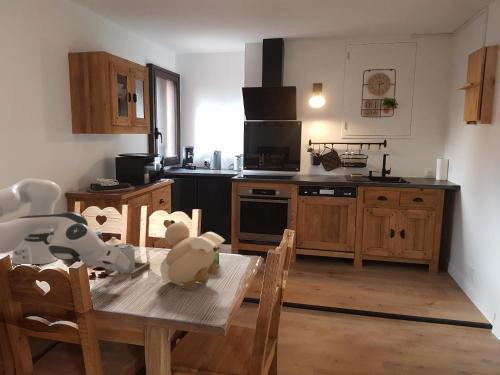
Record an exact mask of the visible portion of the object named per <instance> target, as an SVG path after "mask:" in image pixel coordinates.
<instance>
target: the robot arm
mask: <svg viewBox="0 0 500 375" xmlns="http://www.w3.org/2000/svg"><path fill="white" fill-rule="evenodd" d="M61 196H62V189H61V187H60V186H59V184H58V183H55V182H54V181H52V180H48V179H42V178H41V179H40V178H33V177H32V178H31V177H30V178H24V179H21V180H19V181H18V182H16V183H14V184H12V185H10V186H8V187H5V188H2V189H0V218H2V217H5V216H7V215H11V214H13V213H17V212H18V211H19V210H21V209H22V208H23V207H24V206H27V205H28V204H30V207H29V211H28V212H27V213H26V215H23V216H19V217H17V218H16V219H12V220H10V221H5V222H0V254H7V253H9V252H11V251H12V255H11V256H10V257H11V260H12V263H11V264H15V265H19V264H34V265H33V266H36V265H35V264H40V265H47V264H50V263H53V262H55V261H57V260H60V261H70V260H74V259H76V258H79V260H80V261H81V262H82V263H83V264H84V263H86V264H85V265H86V266H91V267H96V268H97V267H99V268H104V269H108V270H109V271H113V272H116V271H117V270H116V269H120V270H127V269H128V267H129V265H130V261H129V259H128V258H127V257H126V256H125V255H124V254H123V253H121V252H120V251H121V250H120V249H119V248H118V247H114V246H111V245H109V244H107V243H105V242H104V241H103V240H102V239H101V238H100V237H99V235H98V234H97V233H96V231H94V230H93V229H92V228H90V227H89V223H88V221H87V219H86V217H85V216H84V215H83V214H82V213H80V212H77V211H67V212H63V213H55V214H54V209H55V205H56V203H57V201H59V200H60V198H61ZM54 229H55V230H54ZM19 266H20V265H19Z"/></svg>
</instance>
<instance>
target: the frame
mask: <svg viewBox="0 0 500 375" xmlns="http://www.w3.org/2000/svg"><path fill="white" fill-rule="evenodd" d="M150 267H151V266H150V263H149V262H141V261H136V260H135V270H134V271H133V272H131V273H130V275H131V276H130V278H131V279H135V278H136V277H138V276H139V275H141V274H143V273H145V272H146V271H148V270H150V269H151V268H150ZM116 271H117V269H116ZM113 272H114V271H109V270H108V269H106V268H104V274H105V273H107V275H110V274H111V273H113Z"/></svg>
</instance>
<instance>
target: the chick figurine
mask: <svg viewBox="0 0 500 375" xmlns="http://www.w3.org/2000/svg"><path fill="white" fill-rule="evenodd" d="M202 234H203V233H202ZM217 234H218V233H215V232H213V231H207V232H205V234H203V235H201V236H199V237H198V236H190V229H189V227H188V226H187V225H186V224H185V222H184V221H182V220H181V221H179V222H174V223H171V224H170V225H169V226H168V227H167V229H166V230H165V233H164V239H165V241H166V242H167V244H168V245H170V246H172V247H171V248H170V250H168V253H167V255H166V257H165V258H164V259H163V260H162V262H161V263H160V265H159V266H160V268H159V269H160V274H161V279H162V281H163V284H166V283H167V282H169V281H170V282H171V283H173V284H175V285H182V286H181V288H183V289H186V290H189V291H192V292H196V293H197V283H200V284H202V285H203V284H204V285H207V283H208V274H209V275H212V276H215V277H217V276H218V266H217V261H216V262H214V263H213V261H214V257H215V253H214V250H213V248H214V247H216V248H217V247H219V248H220V246H222V244H223V243H224V242H225V241H226V239H224V238H223V237H222V236H219V235H220V234H218V235H217ZM212 263H213V264H212Z"/></svg>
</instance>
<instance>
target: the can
mask: <svg viewBox="0 0 500 375" xmlns="http://www.w3.org/2000/svg"><path fill="white" fill-rule="evenodd" d="M118 248H119V249H120V250H121V251H120V252H121V253H123V254H124V255H125V256H126V257H127V258H128V259H129V261H130V265H129V267H128V269H127V270H120V269H117V270H116V271H117V272H118V273H119V274H122V275H128V274H131V272H133V271H134V270H136V268H135V261H136V260H135V259H136V258H135V254H136V253H135V252H136V251H135V250H136V249H135V247H134V245H133V243H132V244H131V243H124V244H121V245H119V246H118Z"/></svg>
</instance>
